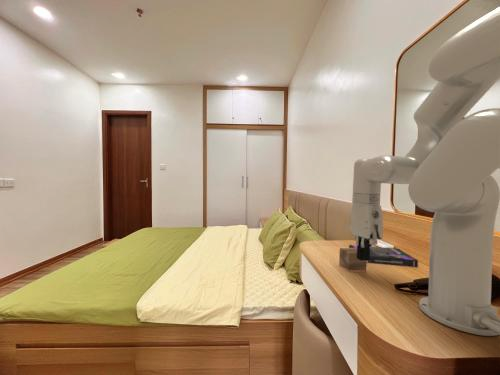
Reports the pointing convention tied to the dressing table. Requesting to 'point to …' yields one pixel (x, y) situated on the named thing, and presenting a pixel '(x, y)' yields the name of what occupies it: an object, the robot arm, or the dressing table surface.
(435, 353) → the dressing table surface
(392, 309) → the dressing table surface
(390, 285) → the dressing table surface
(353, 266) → the walnut block
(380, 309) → the dressing table surface
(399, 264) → the box
